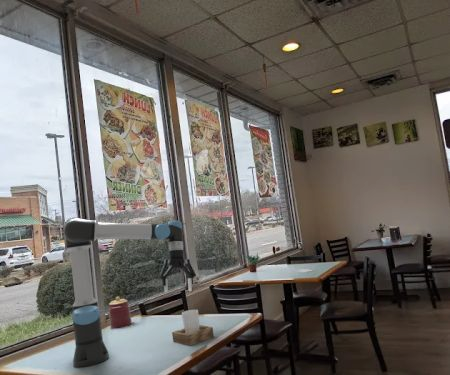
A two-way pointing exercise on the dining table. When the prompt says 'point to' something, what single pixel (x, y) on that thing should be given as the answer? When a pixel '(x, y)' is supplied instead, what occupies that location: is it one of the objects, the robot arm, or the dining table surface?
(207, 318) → the dining table surface
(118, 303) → the canister
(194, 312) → the white cup
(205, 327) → the brown wooden tray
